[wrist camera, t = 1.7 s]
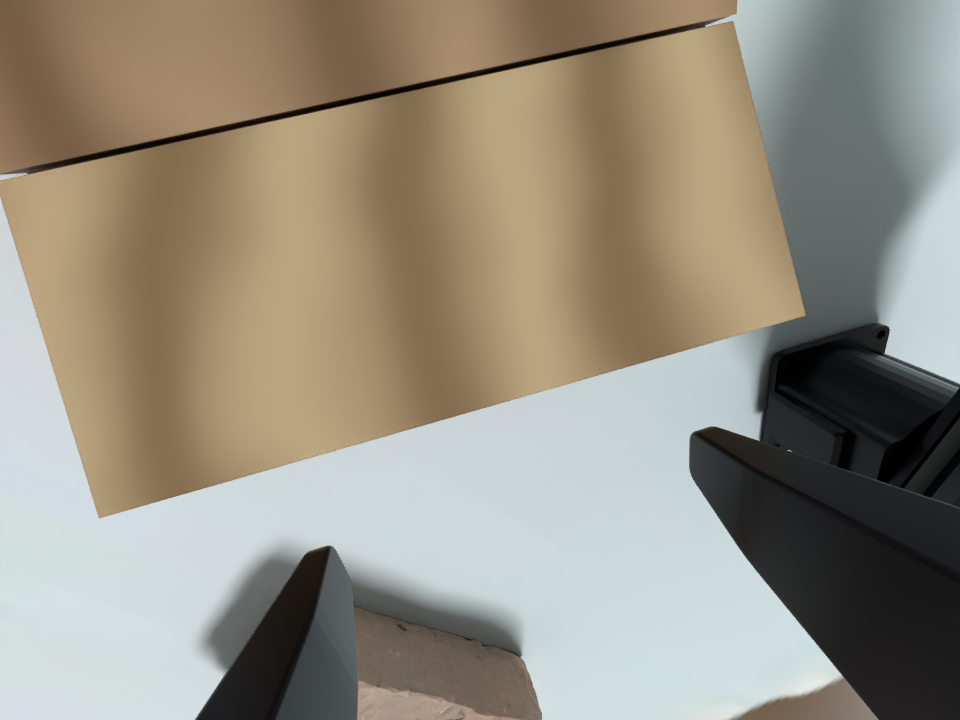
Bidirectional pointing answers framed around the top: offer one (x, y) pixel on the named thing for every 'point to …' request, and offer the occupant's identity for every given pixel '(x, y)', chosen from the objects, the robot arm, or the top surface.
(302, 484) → the top surface
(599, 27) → the floor base
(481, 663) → the brick
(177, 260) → the oak plank
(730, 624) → the top surface
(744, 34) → the top surface
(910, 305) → the top surface
